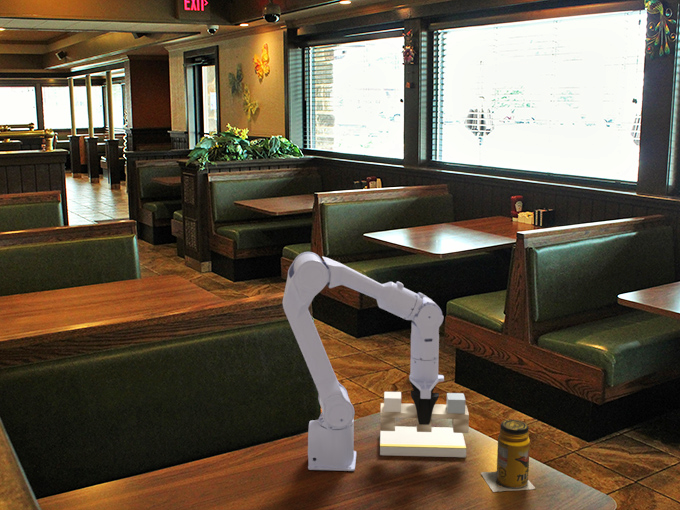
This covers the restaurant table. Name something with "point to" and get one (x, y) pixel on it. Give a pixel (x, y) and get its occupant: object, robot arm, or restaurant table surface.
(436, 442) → the dock
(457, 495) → the restaurant table surface
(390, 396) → the block
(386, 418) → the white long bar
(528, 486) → the condiment
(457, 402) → the light grey square block
